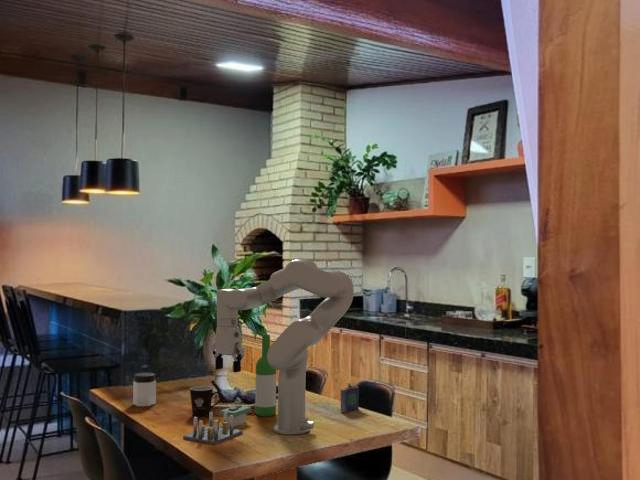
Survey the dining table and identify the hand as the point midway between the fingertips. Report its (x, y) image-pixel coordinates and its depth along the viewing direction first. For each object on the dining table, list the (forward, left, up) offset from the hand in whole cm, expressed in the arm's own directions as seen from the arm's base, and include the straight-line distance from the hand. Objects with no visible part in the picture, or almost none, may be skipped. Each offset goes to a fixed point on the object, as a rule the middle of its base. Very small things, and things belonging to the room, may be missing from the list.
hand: (228, 370), depth 232 cm
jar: (+46, -4, -19) cm, 50 cm away
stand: (-4, +1, -19) cm, 19 cm away
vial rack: (-7, +16, -19) cm, 26 cm away
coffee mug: (+14, -3, -19) cm, 23 cm away
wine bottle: (-5, -16, -19) cm, 25 cm away
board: (-4, +1, -15) cm, 15 cm away
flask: (-30, -37, -19) cm, 52 cm away
